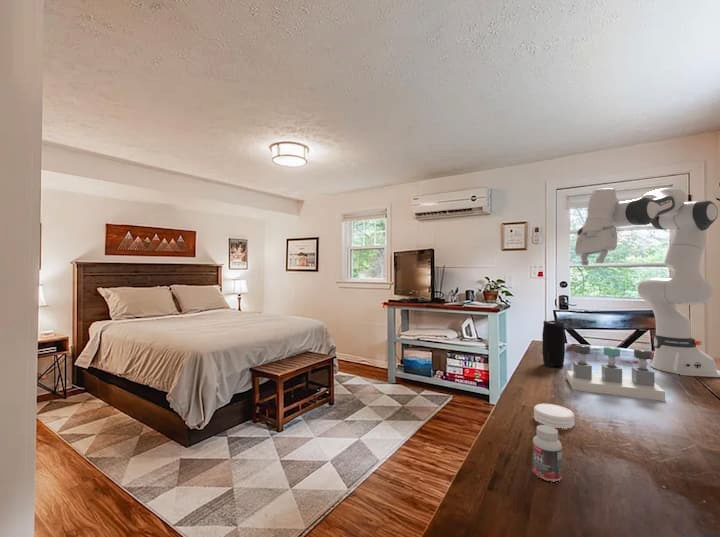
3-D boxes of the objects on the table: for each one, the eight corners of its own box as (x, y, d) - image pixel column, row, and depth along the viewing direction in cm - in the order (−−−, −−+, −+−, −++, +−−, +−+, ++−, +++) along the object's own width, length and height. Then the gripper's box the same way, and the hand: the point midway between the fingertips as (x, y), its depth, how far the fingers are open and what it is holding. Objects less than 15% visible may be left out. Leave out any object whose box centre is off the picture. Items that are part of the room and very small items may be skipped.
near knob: (648, 367, 124) (649, 349, 124) (653, 371, 119) (654, 352, 119) (632, 366, 125) (632, 348, 125) (636, 369, 121) (636, 351, 121)
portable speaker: (554, 362, 161) (554, 319, 161) (569, 368, 151) (570, 322, 151) (537, 363, 159) (537, 320, 159) (552, 369, 150) (552, 323, 150)
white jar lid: (525, 418, 102) (525, 406, 102) (550, 412, 105) (550, 400, 105) (557, 433, 92) (557, 419, 92) (582, 426, 96) (582, 413, 96)
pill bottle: (529, 476, 73) (529, 429, 73) (536, 465, 77) (536, 420, 77) (558, 487, 69) (559, 437, 69) (564, 475, 73) (564, 428, 73)
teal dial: (618, 364, 127) (618, 346, 127) (621, 368, 123) (621, 349, 123) (602, 363, 129) (602, 345, 129) (605, 366, 125) (605, 348, 125)
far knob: (588, 362, 131) (588, 345, 131) (591, 365, 126) (591, 348, 126) (573, 360, 133) (573, 344, 133) (575, 364, 128) (575, 346, 128)
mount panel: (649, 387, 127) (649, 365, 127) (665, 400, 114) (665, 376, 114) (567, 378, 138) (567, 358, 137) (572, 389, 125) (572, 367, 125)
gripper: (625, 225, 125) (619, 263, 124) (590, 235, 145) (584, 267, 144) (607, 222, 125) (600, 260, 124) (574, 232, 146) (569, 264, 145)
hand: (591, 264), depth 135 cm, fingers open, 8 cm apart
